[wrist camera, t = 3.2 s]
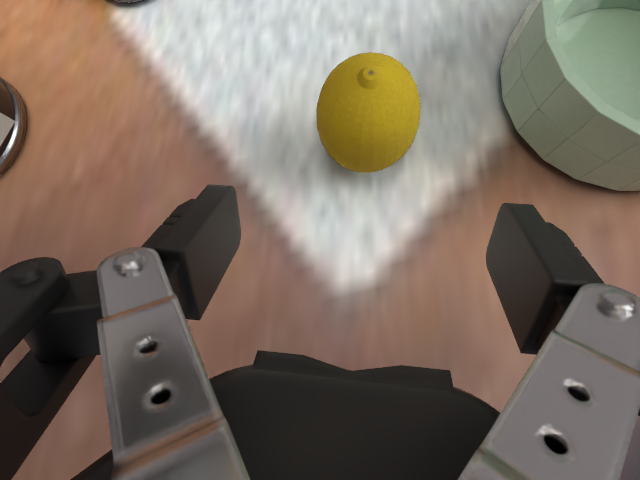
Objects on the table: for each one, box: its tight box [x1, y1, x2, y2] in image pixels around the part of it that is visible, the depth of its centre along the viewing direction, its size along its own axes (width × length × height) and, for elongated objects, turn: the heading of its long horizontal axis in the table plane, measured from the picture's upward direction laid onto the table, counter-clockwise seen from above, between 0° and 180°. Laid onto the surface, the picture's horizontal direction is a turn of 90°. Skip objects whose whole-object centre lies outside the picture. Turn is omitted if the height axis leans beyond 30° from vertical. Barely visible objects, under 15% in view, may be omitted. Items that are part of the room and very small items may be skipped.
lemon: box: [317, 52, 420, 172], centre depth 21 cm, size 6×6×8 cm
